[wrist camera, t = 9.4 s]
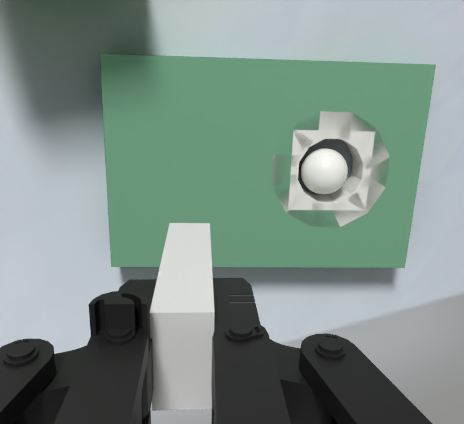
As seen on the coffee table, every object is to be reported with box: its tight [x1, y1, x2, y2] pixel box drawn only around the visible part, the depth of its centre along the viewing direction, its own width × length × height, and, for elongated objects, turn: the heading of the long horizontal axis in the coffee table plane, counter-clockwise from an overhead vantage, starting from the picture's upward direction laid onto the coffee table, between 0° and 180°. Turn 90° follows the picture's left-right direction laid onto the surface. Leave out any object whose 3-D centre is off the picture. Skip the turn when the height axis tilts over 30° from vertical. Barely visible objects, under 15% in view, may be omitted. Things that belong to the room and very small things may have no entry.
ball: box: [301, 148, 348, 194], centre depth 35 cm, size 4×4×4 cm
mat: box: [100, 54, 436, 268], centre depth 35 cm, size 24×16×2 cm, turn 89°
